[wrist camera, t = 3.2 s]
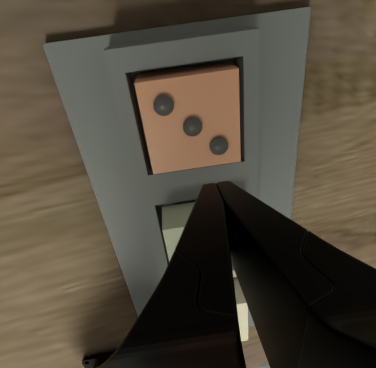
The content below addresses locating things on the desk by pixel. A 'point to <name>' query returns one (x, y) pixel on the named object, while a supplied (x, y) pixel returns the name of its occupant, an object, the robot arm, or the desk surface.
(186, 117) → the tile
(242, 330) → the tile
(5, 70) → the desk surface
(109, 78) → the board
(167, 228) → the tile
